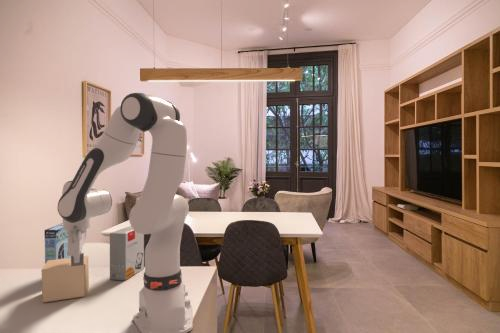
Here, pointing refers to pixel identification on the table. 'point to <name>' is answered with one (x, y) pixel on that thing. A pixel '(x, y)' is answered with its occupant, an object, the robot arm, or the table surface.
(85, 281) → the carton
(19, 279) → the table surface
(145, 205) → the robot arm
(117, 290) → the table surface
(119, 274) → the hard drive box
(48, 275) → the front flap
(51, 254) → the gum box
